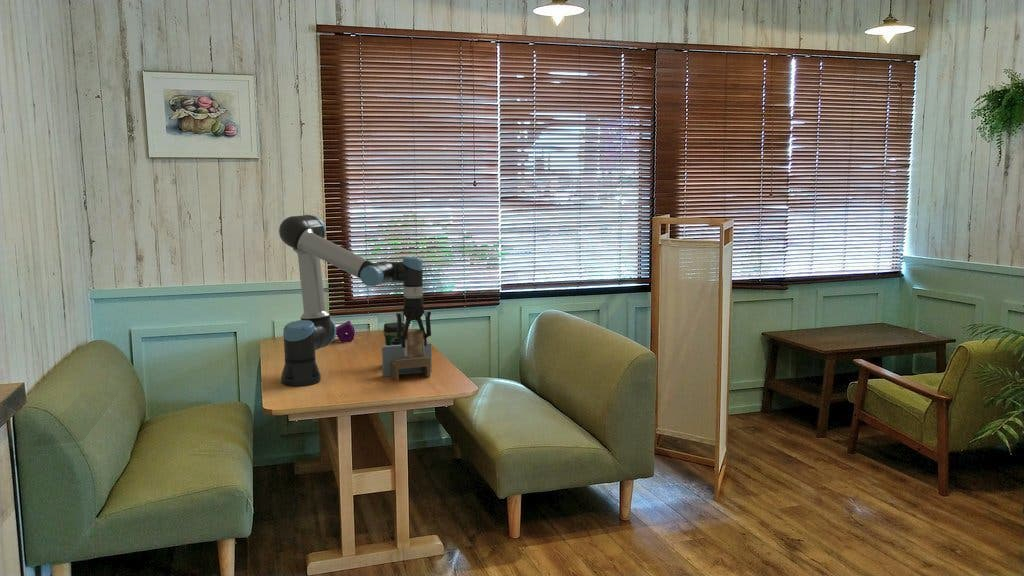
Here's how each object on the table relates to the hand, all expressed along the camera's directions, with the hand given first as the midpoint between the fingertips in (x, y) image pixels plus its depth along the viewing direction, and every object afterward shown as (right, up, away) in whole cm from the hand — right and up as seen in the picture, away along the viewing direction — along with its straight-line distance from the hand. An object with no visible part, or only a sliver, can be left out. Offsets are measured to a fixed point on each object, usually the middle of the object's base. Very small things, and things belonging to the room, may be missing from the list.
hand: (414, 354), depth 308 cm
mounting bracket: (-49, 0, +78) cm, 92 cm away
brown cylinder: (0, 0, 0) cm, 0 cm away
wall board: (-3, -9, +9) cm, 13 cm away
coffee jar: (-11, -7, +27) cm, 30 cm away
